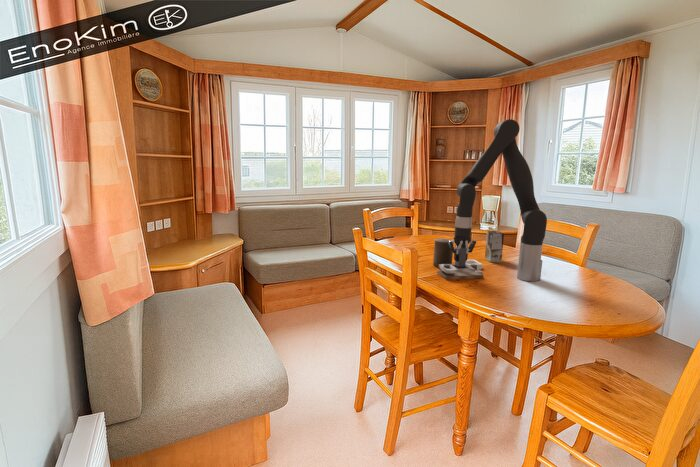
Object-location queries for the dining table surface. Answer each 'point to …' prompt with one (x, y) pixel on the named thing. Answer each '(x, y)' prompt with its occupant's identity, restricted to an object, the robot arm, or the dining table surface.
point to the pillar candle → (442, 252)
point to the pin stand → (469, 262)
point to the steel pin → (461, 258)
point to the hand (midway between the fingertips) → (460, 260)
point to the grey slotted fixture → (459, 272)
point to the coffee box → (494, 246)
